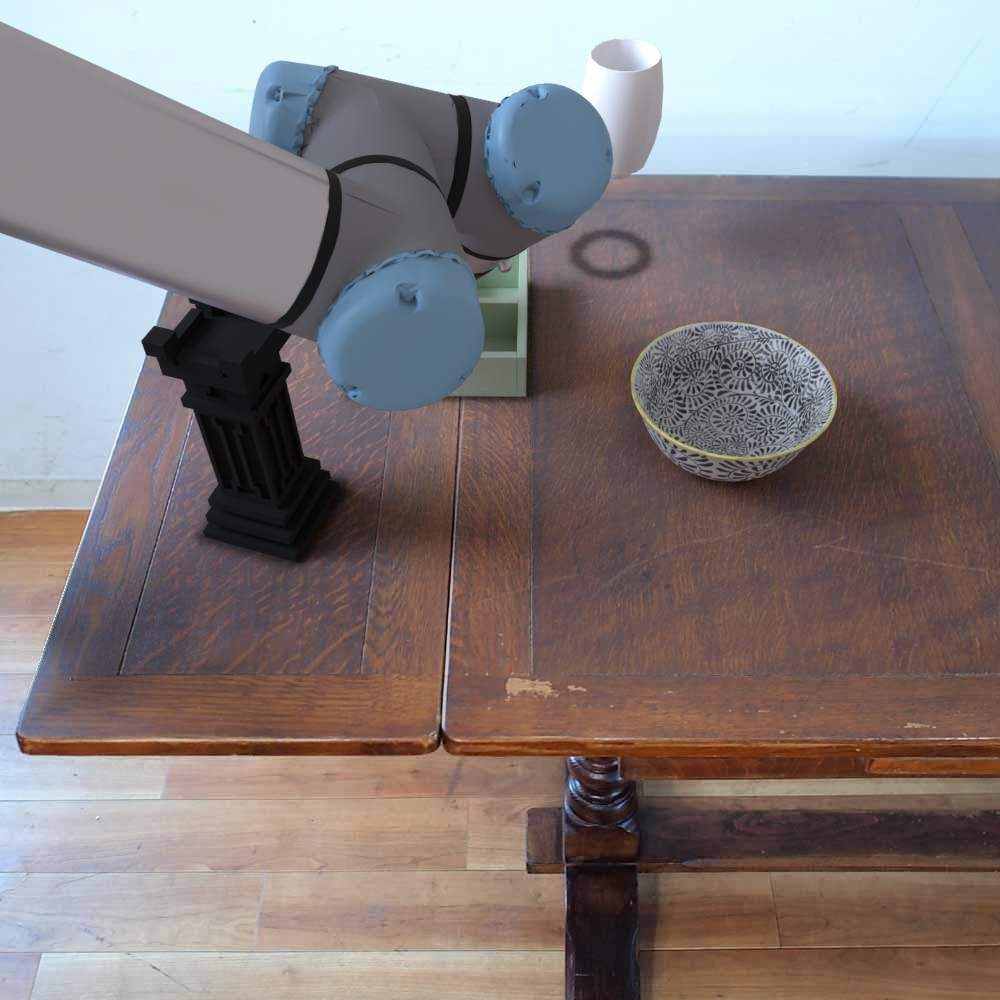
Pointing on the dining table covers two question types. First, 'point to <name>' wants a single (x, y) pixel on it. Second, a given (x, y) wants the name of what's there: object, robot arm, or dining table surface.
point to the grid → (502, 333)
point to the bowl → (731, 398)
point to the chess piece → (246, 429)
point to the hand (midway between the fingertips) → (374, 290)
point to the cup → (626, 98)
